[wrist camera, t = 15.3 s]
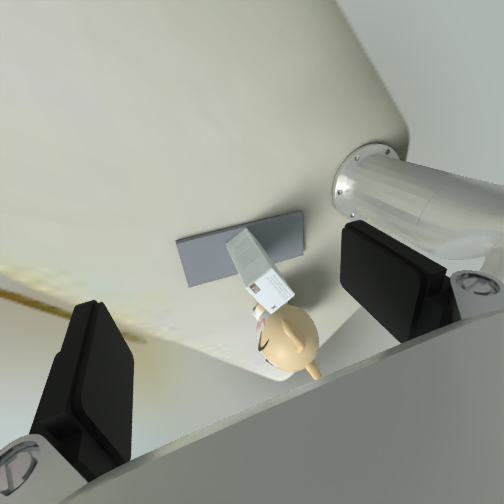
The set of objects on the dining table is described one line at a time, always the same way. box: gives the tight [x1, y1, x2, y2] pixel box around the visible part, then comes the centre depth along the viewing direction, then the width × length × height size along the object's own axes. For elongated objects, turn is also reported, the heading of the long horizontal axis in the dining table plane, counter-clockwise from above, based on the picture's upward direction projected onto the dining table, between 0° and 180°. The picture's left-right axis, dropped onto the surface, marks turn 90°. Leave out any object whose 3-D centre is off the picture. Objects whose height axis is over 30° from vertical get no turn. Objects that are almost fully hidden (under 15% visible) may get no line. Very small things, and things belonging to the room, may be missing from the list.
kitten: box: [252, 302, 322, 380], centre depth 46 cm, size 15×10×15 cm, turn 24°
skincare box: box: [226, 228, 295, 314], centre depth 39 cm, size 6×4×12 cm
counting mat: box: [176, 210, 303, 288], centre depth 45 cm, size 20×8×1 cm, turn 97°
